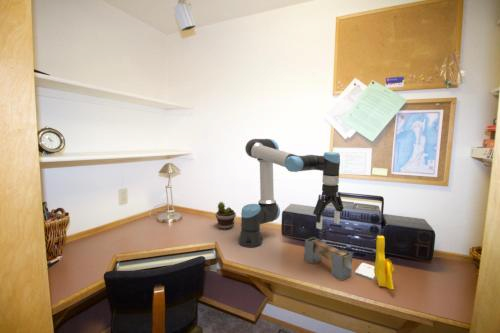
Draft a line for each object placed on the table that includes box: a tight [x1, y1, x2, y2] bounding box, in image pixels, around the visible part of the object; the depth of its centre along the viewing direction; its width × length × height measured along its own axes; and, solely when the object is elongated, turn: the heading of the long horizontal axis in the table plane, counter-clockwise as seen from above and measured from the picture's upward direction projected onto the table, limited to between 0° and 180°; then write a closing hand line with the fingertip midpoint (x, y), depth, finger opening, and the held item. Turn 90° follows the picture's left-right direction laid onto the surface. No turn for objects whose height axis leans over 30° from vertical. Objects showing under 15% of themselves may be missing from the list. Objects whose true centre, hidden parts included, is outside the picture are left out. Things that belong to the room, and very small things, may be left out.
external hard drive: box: [354, 262, 376, 281], centre depth 115 cm, size 2×8×12 cm
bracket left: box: [303, 236, 323, 265], centre depth 126 cm, size 6×7×11 cm
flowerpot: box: [215, 200, 237, 230], centre depth 171 cm, size 14×15×20 cm
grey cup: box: [331, 249, 354, 281], centre depth 111 cm, size 6×7×11 cm
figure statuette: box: [374, 235, 395, 290], centre depth 105 cm, size 18×8×22 cm, turn 161°
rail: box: [311, 239, 347, 262], centre depth 118 cm, size 19×4×5 cm, turn 34°
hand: (328, 225), depth 117 cm, fingers open, 13 cm apart
